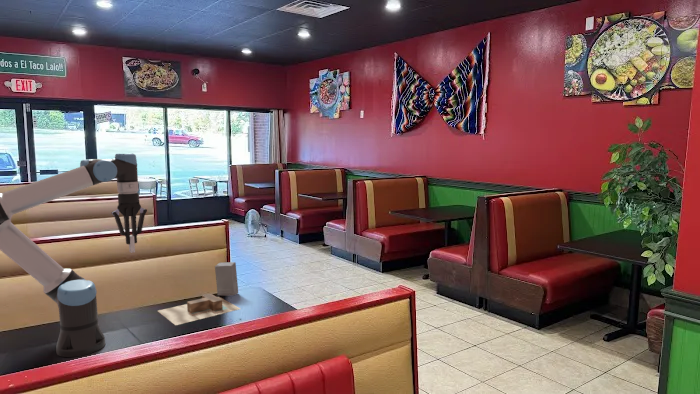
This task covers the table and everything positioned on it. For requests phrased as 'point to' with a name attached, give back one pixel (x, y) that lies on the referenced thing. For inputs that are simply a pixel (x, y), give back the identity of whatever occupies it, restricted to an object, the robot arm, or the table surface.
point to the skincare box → (226, 278)
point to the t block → (205, 304)
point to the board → (183, 316)
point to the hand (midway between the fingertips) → (132, 251)
